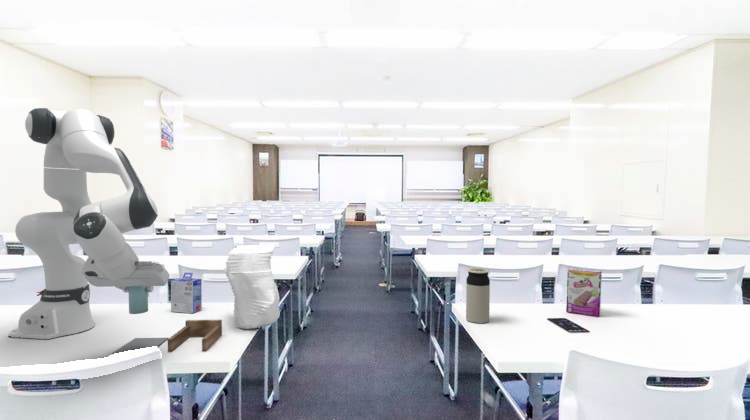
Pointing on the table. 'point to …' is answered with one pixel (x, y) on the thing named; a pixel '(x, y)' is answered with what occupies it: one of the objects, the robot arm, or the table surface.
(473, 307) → the travel mug
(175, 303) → the ink cartridge box
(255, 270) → the white crumpled mass
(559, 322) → the smartphone
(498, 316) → the table surface
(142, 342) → the mat
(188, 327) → the holder
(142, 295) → the pale blue domed cylinder
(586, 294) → the candy bar box
